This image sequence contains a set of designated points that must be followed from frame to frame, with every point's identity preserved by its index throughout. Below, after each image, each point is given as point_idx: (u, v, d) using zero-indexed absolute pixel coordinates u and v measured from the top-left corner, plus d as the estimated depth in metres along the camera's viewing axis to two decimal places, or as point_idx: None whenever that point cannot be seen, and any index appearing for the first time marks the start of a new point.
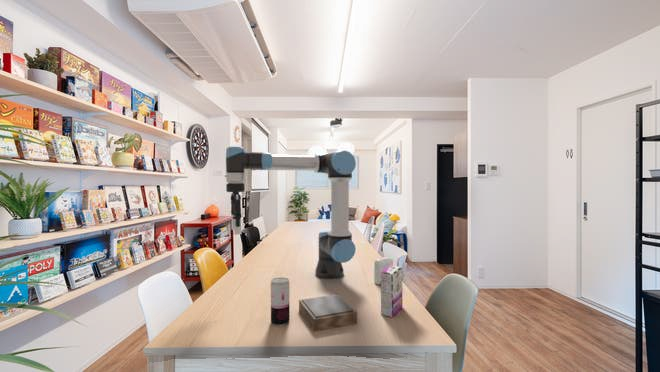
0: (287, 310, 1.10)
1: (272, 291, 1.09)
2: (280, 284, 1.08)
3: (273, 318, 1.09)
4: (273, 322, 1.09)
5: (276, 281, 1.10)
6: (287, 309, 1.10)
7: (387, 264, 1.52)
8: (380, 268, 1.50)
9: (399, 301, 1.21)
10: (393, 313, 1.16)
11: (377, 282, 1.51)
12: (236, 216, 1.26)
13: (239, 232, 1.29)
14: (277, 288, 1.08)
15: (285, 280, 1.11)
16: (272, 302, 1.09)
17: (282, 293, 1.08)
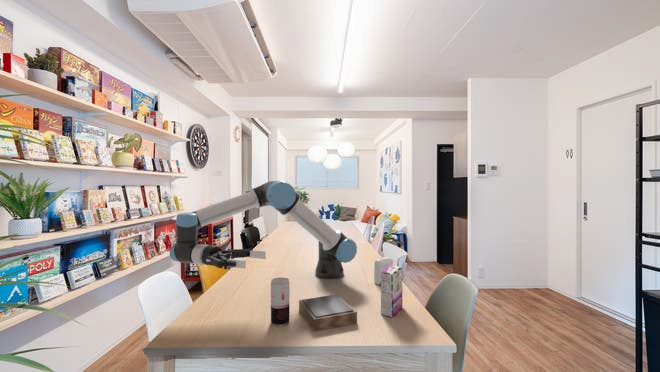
0: (287, 310, 1.10)
1: (272, 291, 1.09)
2: (280, 284, 1.08)
3: (273, 318, 1.09)
4: (273, 322, 1.09)
5: (276, 281, 1.10)
6: (287, 309, 1.10)
7: (387, 264, 1.52)
8: (380, 268, 1.50)
9: (399, 301, 1.21)
10: (393, 313, 1.16)
11: (377, 282, 1.51)
12: (219, 266, 1.07)
13: (242, 262, 1.07)
14: (277, 288, 1.08)
15: (285, 280, 1.11)
16: (272, 302, 1.09)
17: (282, 293, 1.08)
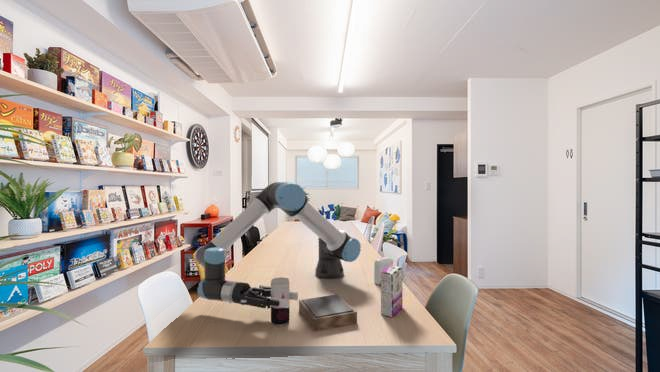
0: (287, 310, 1.10)
1: (272, 291, 1.09)
2: (280, 284, 1.08)
3: (273, 318, 1.09)
4: (273, 322, 1.09)
5: (276, 281, 1.11)
6: (287, 309, 1.10)
7: (387, 264, 1.52)
8: (380, 268, 1.50)
9: (399, 301, 1.21)
10: (393, 313, 1.16)
11: (377, 282, 1.51)
12: (263, 306, 1.06)
13: (286, 302, 1.06)
14: (277, 288, 1.08)
15: (285, 280, 1.12)
16: None
17: (282, 293, 1.08)
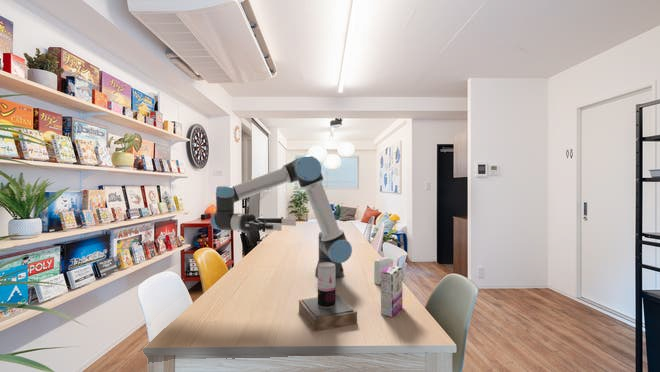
0: (334, 293, 1.14)
1: (320, 275, 1.13)
2: (328, 268, 1.12)
3: (321, 300, 1.13)
4: (321, 304, 1.13)
5: (323, 265, 1.15)
6: (334, 292, 1.14)
7: (387, 264, 1.52)
8: (380, 268, 1.50)
9: (399, 301, 1.21)
10: (393, 313, 1.16)
11: (377, 282, 1.51)
12: (259, 229, 1.22)
13: (278, 225, 1.23)
14: (325, 271, 1.12)
15: (331, 264, 1.16)
16: (319, 285, 1.14)
17: (330, 276, 1.13)
